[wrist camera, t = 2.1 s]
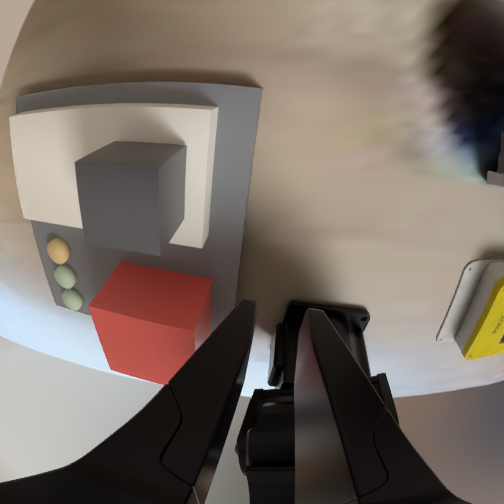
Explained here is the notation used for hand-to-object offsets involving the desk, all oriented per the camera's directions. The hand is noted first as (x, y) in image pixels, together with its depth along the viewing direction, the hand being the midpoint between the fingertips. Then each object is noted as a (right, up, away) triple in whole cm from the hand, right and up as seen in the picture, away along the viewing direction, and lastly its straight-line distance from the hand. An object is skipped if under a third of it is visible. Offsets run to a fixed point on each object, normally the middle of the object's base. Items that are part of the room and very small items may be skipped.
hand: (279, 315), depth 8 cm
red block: (-7, -2, +14) cm, 16 cm away
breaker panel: (-10, +4, +12) cm, 16 cm away
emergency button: (+23, -2, +13) cm, 26 cm away
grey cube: (-6, +5, +7) cm, 11 cm away
